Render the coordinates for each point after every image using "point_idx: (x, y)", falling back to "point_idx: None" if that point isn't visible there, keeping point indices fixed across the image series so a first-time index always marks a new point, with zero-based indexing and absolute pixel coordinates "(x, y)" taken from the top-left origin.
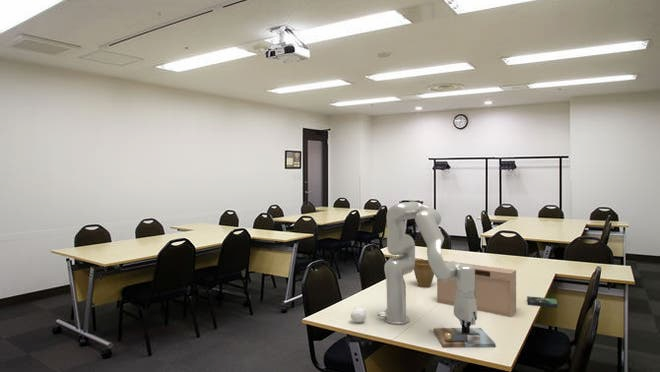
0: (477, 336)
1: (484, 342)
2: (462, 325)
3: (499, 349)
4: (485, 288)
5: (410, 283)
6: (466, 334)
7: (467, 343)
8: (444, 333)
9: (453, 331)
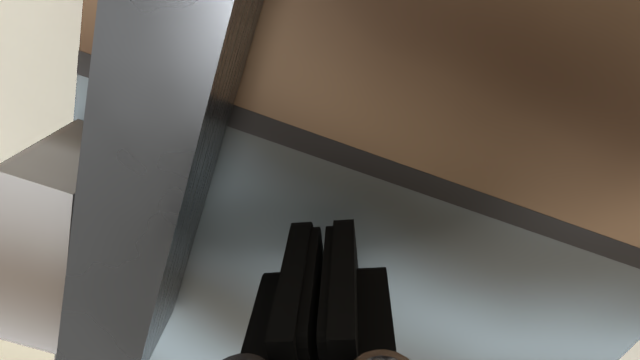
0: (1, 312)
1: None
2: (353, 358)
3: (19, 350)
4: None
5: None
6: (83, 202)
7: None
8: (635, 6)
9: (592, 212)
